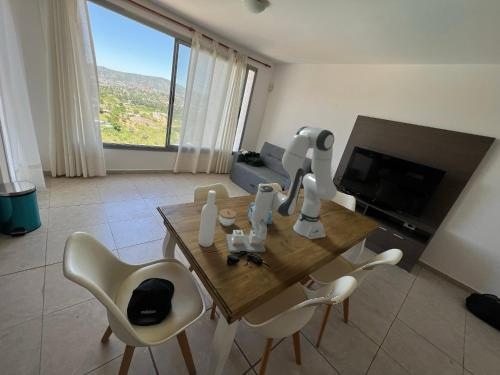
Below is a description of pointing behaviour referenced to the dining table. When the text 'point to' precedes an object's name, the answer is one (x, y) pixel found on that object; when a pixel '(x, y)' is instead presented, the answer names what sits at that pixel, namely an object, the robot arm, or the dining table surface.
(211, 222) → the bottle
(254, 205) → the decorative pot
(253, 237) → the sleeve
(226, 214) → the lidded jar
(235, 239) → the seated sleeve
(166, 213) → the dining table surface
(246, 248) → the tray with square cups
